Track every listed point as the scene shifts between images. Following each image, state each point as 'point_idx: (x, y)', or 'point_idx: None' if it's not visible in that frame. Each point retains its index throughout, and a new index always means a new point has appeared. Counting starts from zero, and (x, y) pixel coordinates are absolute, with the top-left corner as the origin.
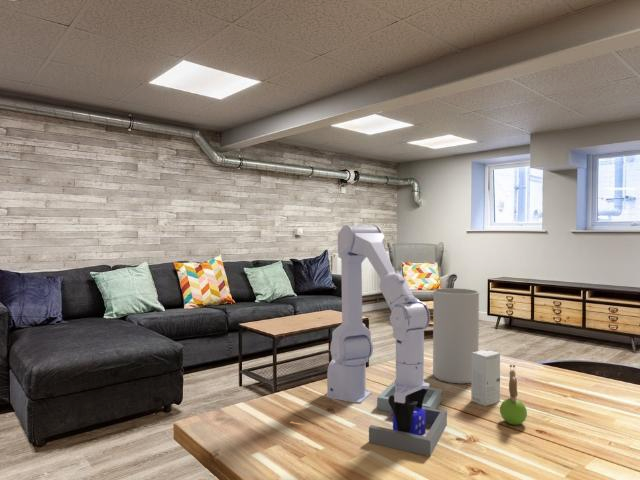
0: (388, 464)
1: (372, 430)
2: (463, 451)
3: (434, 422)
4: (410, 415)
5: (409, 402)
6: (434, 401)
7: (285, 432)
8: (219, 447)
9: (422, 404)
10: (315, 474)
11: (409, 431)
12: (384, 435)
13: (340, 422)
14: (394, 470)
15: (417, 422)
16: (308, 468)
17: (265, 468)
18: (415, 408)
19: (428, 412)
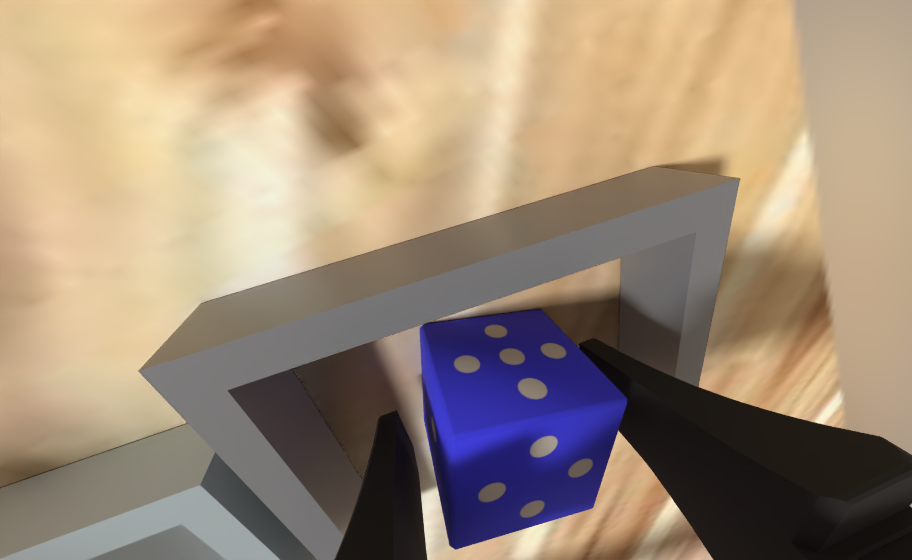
0: (757, 264)
1: None
2: (499, 13)
3: (460, 308)
4: (740, 403)
5: (876, 516)
6: (22, 537)
7: (668, 526)
8: None
9: (355, 507)
10: (836, 359)
11: (603, 344)
12: None
13: (549, 524)
14: (792, 223)
15: (554, 368)
16: (813, 387)
17: None
18: (489, 478)
19: (283, 436)
